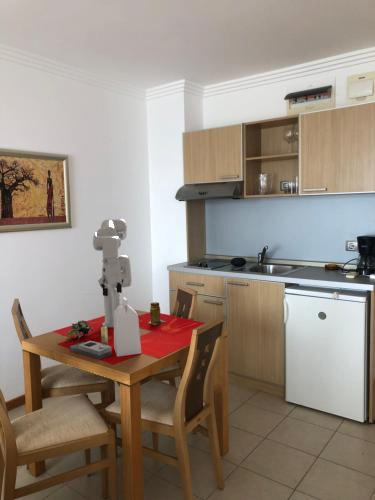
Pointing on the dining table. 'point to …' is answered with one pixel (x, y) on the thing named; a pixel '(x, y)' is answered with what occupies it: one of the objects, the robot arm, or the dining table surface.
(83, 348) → the grey long rectangular block
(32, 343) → the dining table surface
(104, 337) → the brass pin
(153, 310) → the condiment
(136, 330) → the milk
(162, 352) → the dining table surface
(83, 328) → the passion flower
